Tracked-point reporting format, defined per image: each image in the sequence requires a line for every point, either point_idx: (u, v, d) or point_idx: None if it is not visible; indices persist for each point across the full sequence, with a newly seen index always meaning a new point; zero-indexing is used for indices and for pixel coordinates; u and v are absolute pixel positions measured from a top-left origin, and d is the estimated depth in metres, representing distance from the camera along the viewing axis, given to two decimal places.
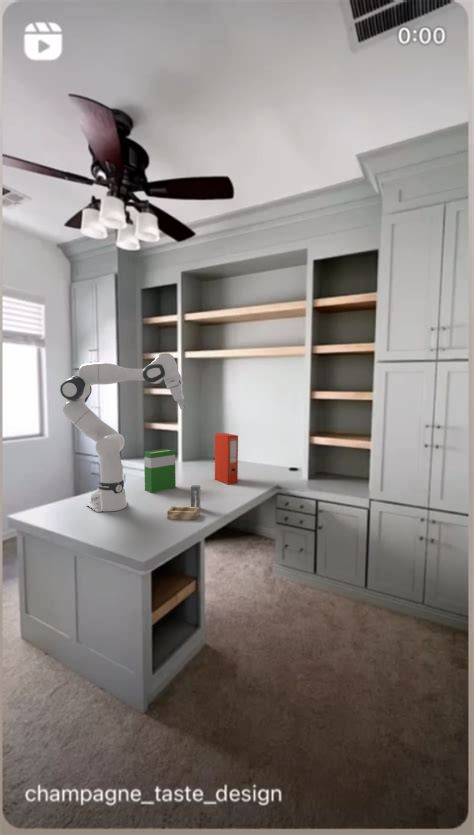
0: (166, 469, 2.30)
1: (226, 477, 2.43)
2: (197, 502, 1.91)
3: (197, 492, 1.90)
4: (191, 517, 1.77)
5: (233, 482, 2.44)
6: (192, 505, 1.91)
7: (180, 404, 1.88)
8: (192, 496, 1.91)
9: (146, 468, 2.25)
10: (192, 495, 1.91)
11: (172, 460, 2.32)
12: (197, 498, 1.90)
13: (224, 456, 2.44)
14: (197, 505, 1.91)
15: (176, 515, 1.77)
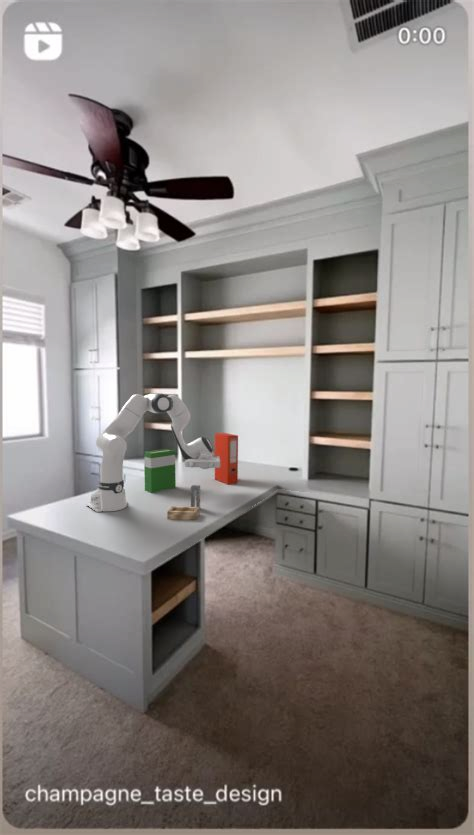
0: (166, 469, 2.30)
1: (226, 477, 2.43)
2: (197, 502, 1.91)
3: (197, 492, 1.90)
4: (191, 517, 1.77)
5: (233, 482, 2.44)
6: (192, 505, 1.91)
7: (211, 465, 2.05)
8: (192, 496, 1.91)
9: (146, 468, 2.25)
10: (192, 495, 1.91)
11: (172, 460, 2.32)
12: (197, 498, 1.90)
13: (224, 456, 2.44)
14: (197, 505, 1.91)
15: (176, 515, 1.77)
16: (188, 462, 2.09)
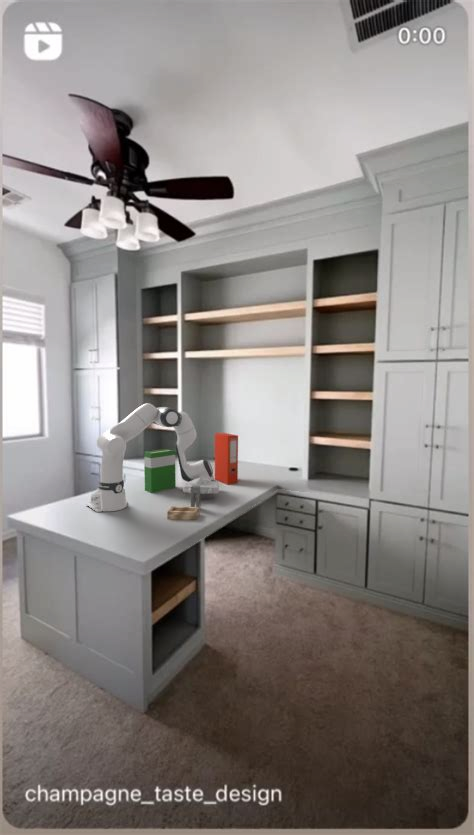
0: (166, 469, 2.30)
1: (226, 477, 2.43)
2: (197, 502, 1.91)
3: (197, 492, 1.90)
4: (191, 517, 1.77)
5: (233, 482, 2.44)
6: (192, 505, 1.91)
7: (210, 491, 2.03)
8: (192, 496, 1.91)
9: (146, 468, 2.25)
10: (192, 495, 1.91)
11: (172, 460, 2.32)
12: (197, 498, 1.90)
13: (224, 456, 2.44)
14: (197, 505, 1.91)
15: (176, 515, 1.77)
16: (187, 487, 2.07)
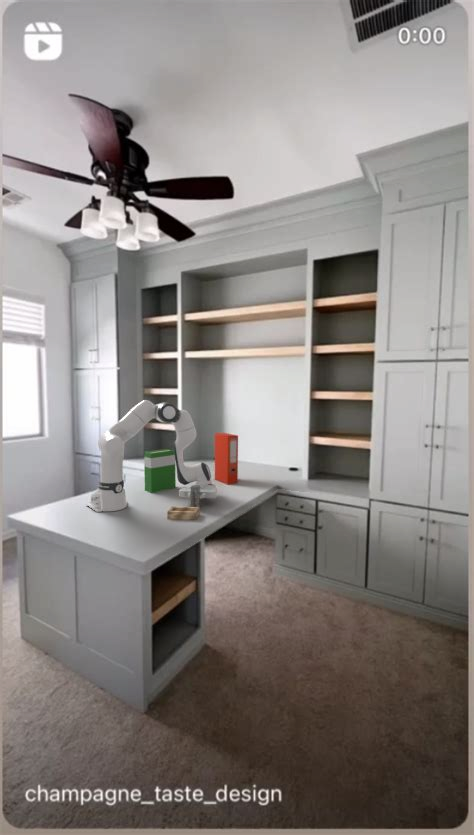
0: (166, 469, 2.30)
1: (226, 477, 2.43)
2: (197, 502, 1.91)
3: (197, 492, 1.90)
4: (191, 517, 1.77)
5: (233, 482, 2.44)
6: (192, 505, 1.91)
7: (203, 495, 1.94)
8: (192, 496, 1.91)
9: (146, 468, 2.25)
10: (192, 495, 1.91)
11: (172, 460, 2.32)
12: (197, 498, 1.90)
13: (224, 456, 2.44)
14: (197, 505, 1.91)
15: (176, 515, 1.77)
16: (182, 492, 1.97)
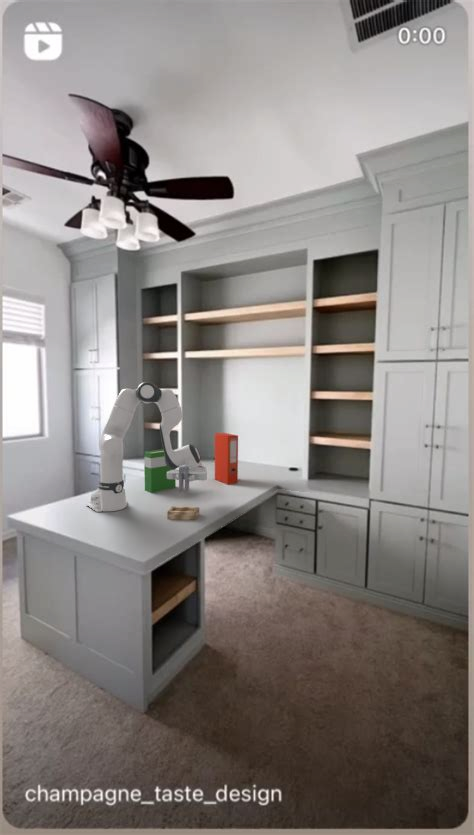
0: (166, 469, 2.30)
1: (226, 477, 2.43)
2: (186, 484, 1.79)
3: (186, 473, 1.79)
4: (191, 517, 1.77)
5: (233, 482, 2.44)
6: (180, 487, 1.80)
7: (193, 477, 1.82)
8: (180, 477, 1.79)
9: (146, 468, 2.25)
10: (180, 476, 1.79)
11: None
12: (186, 480, 1.79)
13: (224, 456, 2.44)
14: (186, 487, 1.79)
15: (176, 515, 1.77)
16: (170, 474, 1.85)
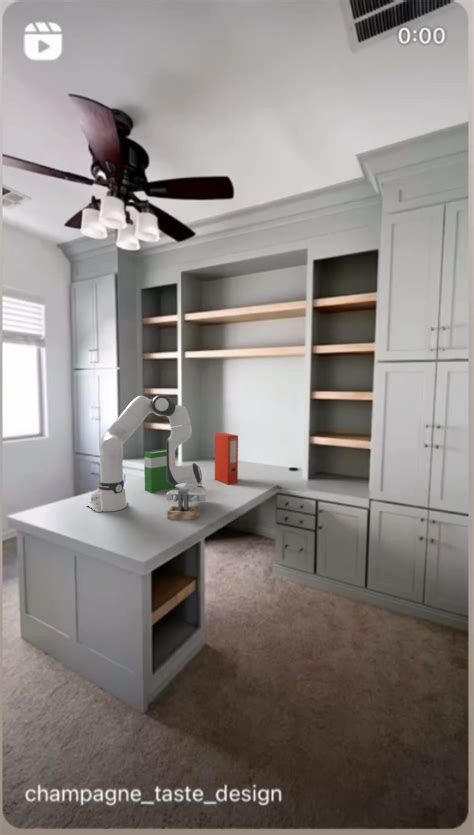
0: (166, 469, 2.30)
1: (226, 477, 2.43)
2: (185, 507, 1.79)
3: (185, 496, 1.79)
4: (191, 517, 1.77)
5: (233, 482, 2.44)
6: (180, 510, 1.79)
7: (195, 498, 1.82)
8: (180, 501, 1.79)
9: (146, 468, 2.25)
10: (180, 500, 1.79)
11: None
12: (185, 503, 1.79)
13: (224, 456, 2.44)
14: (185, 510, 1.79)
15: (176, 515, 1.77)
16: (170, 495, 1.85)
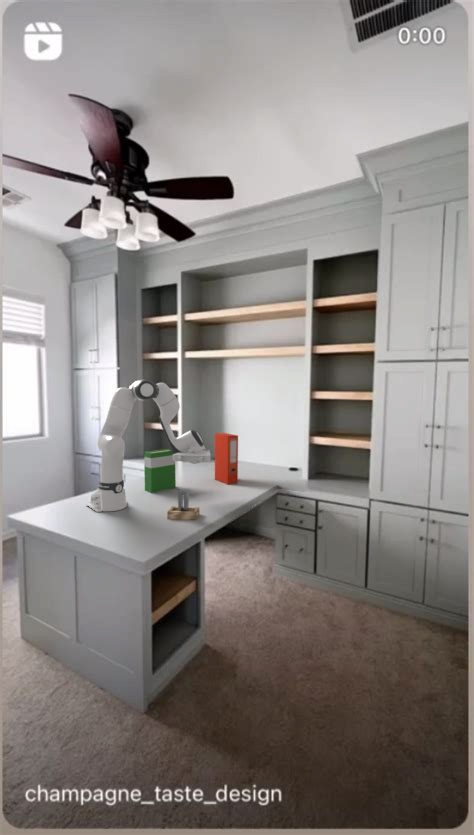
0: (166, 469, 2.30)
1: (226, 477, 2.43)
2: (185, 507, 1.79)
3: (185, 496, 1.79)
4: (191, 517, 1.77)
5: (233, 482, 2.44)
6: (180, 510, 1.79)
7: (201, 459, 1.93)
8: (180, 501, 1.79)
9: (146, 468, 2.25)
10: (180, 500, 1.79)
11: (172, 460, 2.32)
12: (185, 503, 1.79)
13: (224, 456, 2.44)
14: (185, 510, 1.79)
15: (176, 515, 1.77)
16: (176, 456, 1.97)
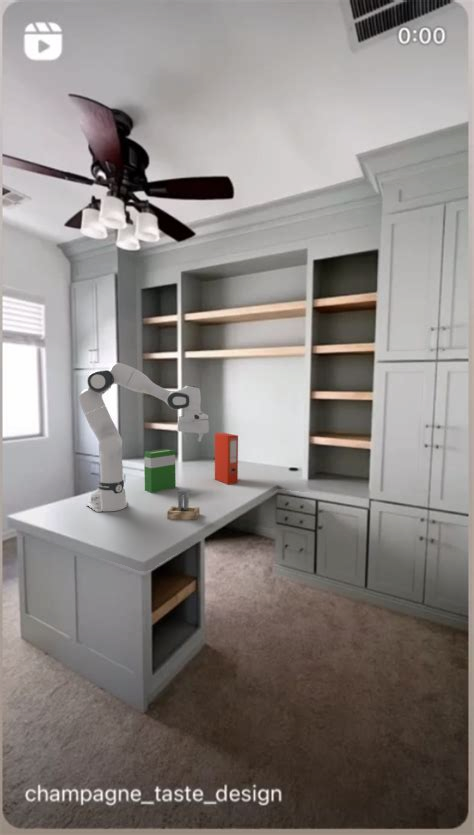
0: (166, 469, 2.30)
1: (226, 477, 2.43)
2: (185, 507, 1.79)
3: (185, 496, 1.79)
4: (191, 517, 1.77)
5: (233, 482, 2.44)
6: (180, 510, 1.79)
7: (201, 436, 1.98)
8: (180, 501, 1.79)
9: (146, 468, 2.25)
10: (180, 500, 1.79)
11: (172, 460, 2.32)
12: (185, 503, 1.79)
13: (224, 456, 2.44)
14: (185, 510, 1.79)
15: (176, 515, 1.77)
16: (181, 431, 2.05)
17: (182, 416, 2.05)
